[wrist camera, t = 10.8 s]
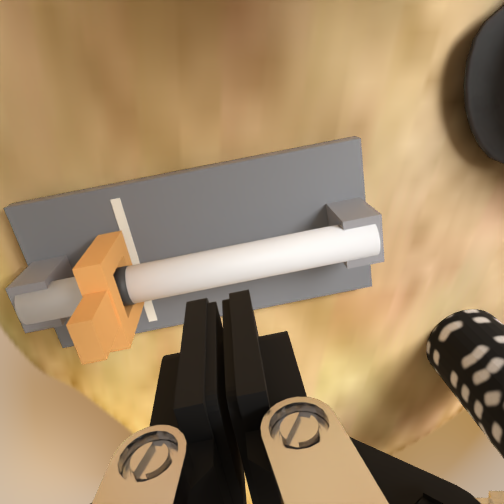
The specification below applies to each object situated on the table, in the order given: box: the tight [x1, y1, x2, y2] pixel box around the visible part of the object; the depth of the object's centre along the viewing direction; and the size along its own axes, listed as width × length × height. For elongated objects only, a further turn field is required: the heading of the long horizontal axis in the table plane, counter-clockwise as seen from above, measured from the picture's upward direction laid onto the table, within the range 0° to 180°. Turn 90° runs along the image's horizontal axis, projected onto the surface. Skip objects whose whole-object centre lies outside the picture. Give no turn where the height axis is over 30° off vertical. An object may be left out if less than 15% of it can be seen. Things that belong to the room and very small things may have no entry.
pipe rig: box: [4, 136, 384, 348], centre depth 35 cm, size 30×14×8 cm, turn 100°
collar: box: [66, 230, 144, 365], centre depth 31 cm, size 2×7×11 cm, turn 10°
